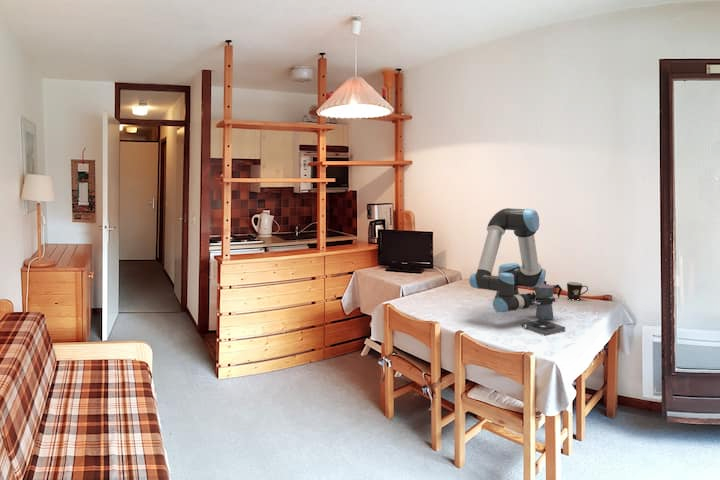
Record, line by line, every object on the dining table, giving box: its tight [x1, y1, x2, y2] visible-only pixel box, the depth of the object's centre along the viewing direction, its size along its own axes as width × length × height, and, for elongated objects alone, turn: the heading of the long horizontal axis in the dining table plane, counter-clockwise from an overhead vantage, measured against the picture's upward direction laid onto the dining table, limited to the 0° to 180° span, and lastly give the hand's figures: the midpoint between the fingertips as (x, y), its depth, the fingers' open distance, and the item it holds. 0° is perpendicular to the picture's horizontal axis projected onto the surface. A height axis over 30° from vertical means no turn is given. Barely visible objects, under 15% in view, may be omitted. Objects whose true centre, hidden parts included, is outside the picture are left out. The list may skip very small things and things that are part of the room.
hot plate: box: [521, 319, 566, 336], centre depth 228 cm, size 15×14×2 cm
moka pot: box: [532, 280, 563, 321], centre depth 246 cm, size 10×15×20 cm, turn 95°
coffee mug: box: [566, 281, 589, 300], centre depth 285 cm, size 12×9×10 cm
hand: (550, 296), depth 248 cm, fingers closed on moka pot, 8 cm apart
